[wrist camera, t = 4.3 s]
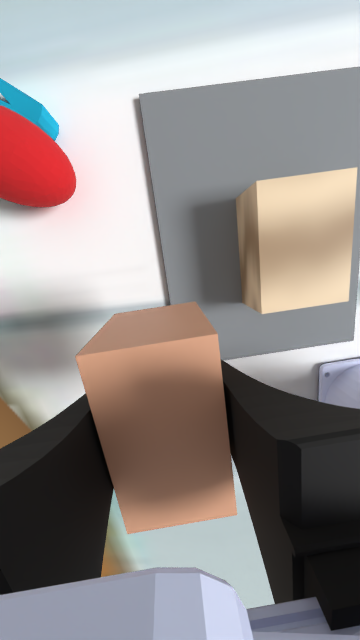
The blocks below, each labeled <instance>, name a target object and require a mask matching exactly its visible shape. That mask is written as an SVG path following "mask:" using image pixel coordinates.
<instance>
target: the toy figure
mask: <svg viewBox="0 0 360 640" xmlns="http://www.w3.org/2000/svg"><path fill="white" fill-rule="evenodd" d="M0 93H1V94H2V95H3V96H4V97H5V99H6V100H7V101H8V102H9V103H10V104H8V103H6V102H4V101H2V100H0V198H2V199H5V200H7V201H11V202H14V203H17V204H21V205H26V206H33V207H52V206H56V205H59V204H62V203H65V202H66V201H67V200H68V199H69V198H71V196H72V195H73V193H74V191H75V188H76V177H75V172H74V170H73V167H72V165H71V163H70V161H69V159H68V157H67V156H66V155H65V153H64V152H63V151H62V149H61V148H60V147H59V146H58V145H57V143H56V142H55V140H56V138H57V136H58V133H59V125H58V123H57V122H56V121H55V120H54V118H53V117H52V116H51V115H50V114H49V112H48V111H47V110H46V109H45V107H44V106H43V105H42V104H41V103H39V102H37V101H36V100H34V99H33V98H31V97H30V96H28V95H26V94H25V93H23V92H22V91H20V90H18V89H17V88H15V87H14V86H12V85H10V84H9V83H7V82H6V81H4V80H2V79H1V78H0Z"/></svg>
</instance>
